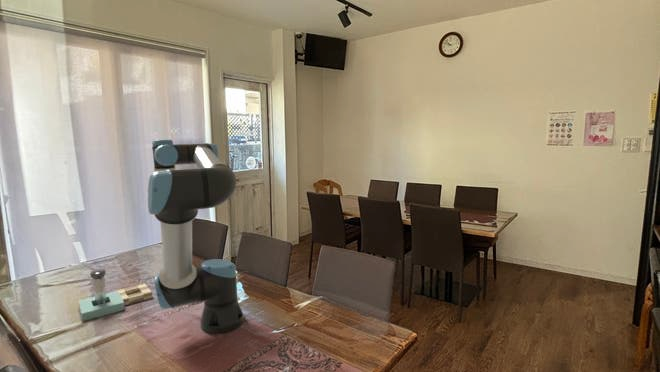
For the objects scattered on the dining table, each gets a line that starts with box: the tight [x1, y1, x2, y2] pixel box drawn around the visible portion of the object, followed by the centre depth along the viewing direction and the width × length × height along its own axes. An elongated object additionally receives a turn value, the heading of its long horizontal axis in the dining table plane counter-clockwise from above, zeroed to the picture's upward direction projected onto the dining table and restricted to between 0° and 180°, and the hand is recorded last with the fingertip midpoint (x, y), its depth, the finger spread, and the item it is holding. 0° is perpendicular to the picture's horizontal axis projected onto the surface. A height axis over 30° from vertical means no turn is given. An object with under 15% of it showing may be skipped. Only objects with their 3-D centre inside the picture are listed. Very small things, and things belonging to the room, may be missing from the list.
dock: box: [78, 290, 126, 322], centre depth 144 cm, size 14×14×3 cm
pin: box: [90, 269, 107, 306], centre depth 143 cm, size 5×5×15 cm
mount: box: [116, 283, 153, 306], centre depth 154 cm, size 12×12×2 cm
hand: (170, 231), depth 145 cm, fingers open, 13 cm apart
